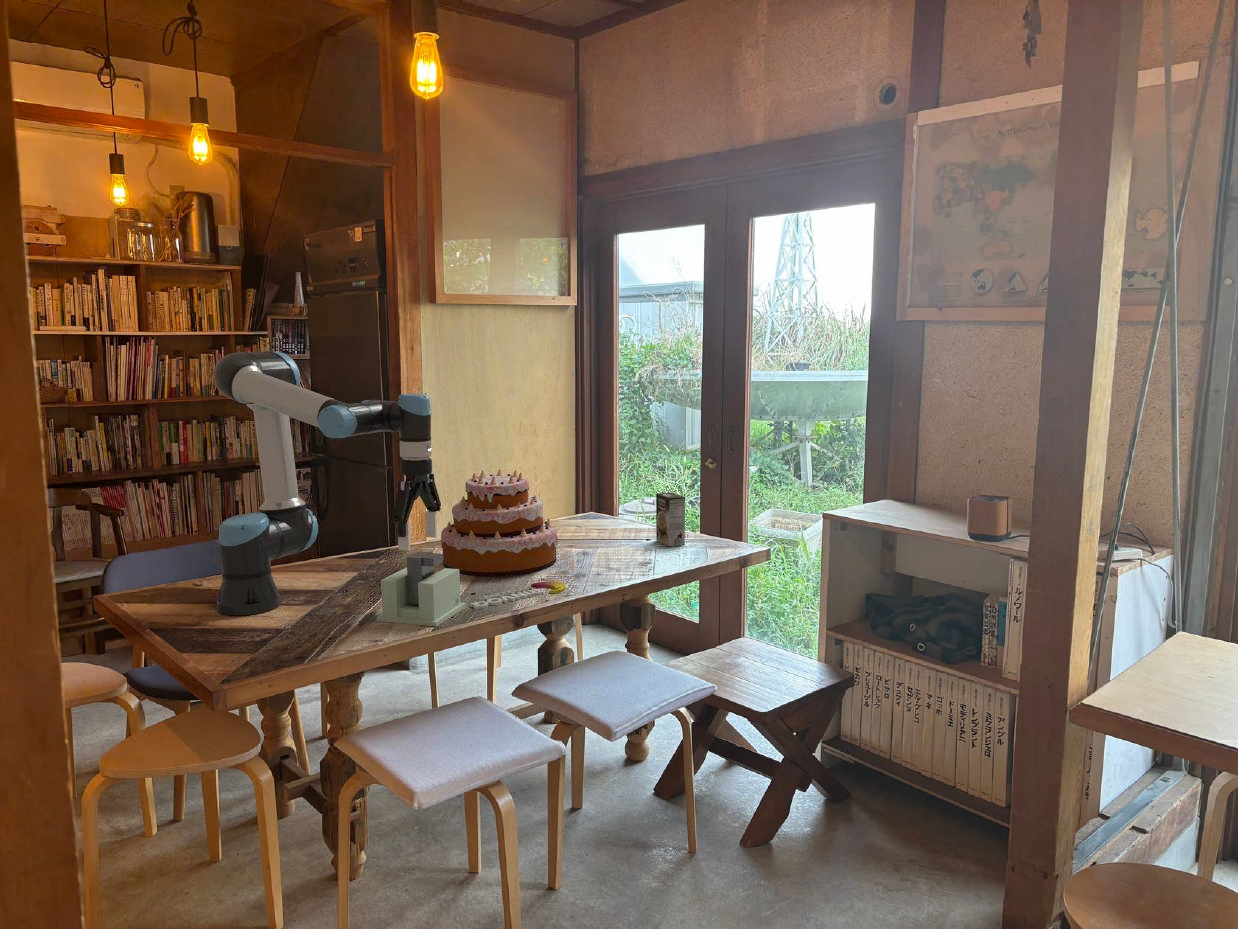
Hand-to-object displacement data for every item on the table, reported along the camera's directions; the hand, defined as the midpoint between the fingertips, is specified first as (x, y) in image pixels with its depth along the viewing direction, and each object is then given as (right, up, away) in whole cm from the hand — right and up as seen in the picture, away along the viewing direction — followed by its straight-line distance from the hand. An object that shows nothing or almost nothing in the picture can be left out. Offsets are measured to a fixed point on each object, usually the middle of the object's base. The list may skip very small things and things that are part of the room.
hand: (418, 543), depth 221 cm
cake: (+13, -11, +53) cm, 55 cm away
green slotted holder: (+1, -18, +2) cm, 18 cm away
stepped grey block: (+2, -17, +2) cm, 17 cm away
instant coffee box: (+66, -7, +75) cm, 101 cm away
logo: (+22, -16, +17) cm, 32 cm away
